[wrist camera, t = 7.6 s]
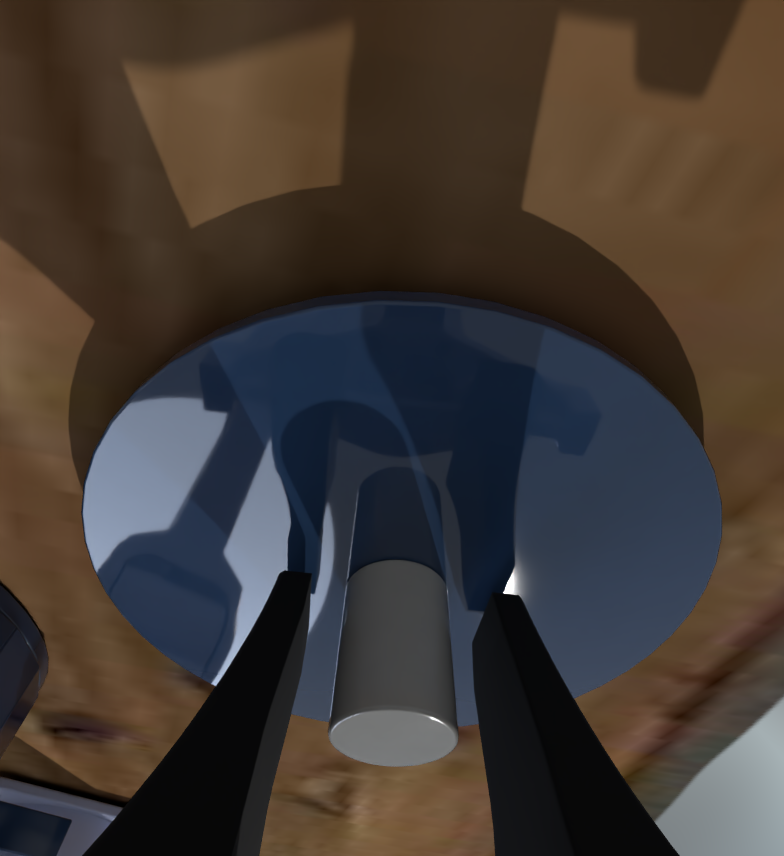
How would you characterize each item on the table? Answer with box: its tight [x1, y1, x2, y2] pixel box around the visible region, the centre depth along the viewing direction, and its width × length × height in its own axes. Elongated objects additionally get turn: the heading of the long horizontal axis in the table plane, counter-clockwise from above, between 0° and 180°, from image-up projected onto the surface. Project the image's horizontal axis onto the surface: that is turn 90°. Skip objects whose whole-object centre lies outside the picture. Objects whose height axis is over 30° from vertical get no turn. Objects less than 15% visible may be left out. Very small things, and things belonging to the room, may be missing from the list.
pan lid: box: [81, 291, 722, 766], centre depth 11 cm, size 14×14×4 cm
